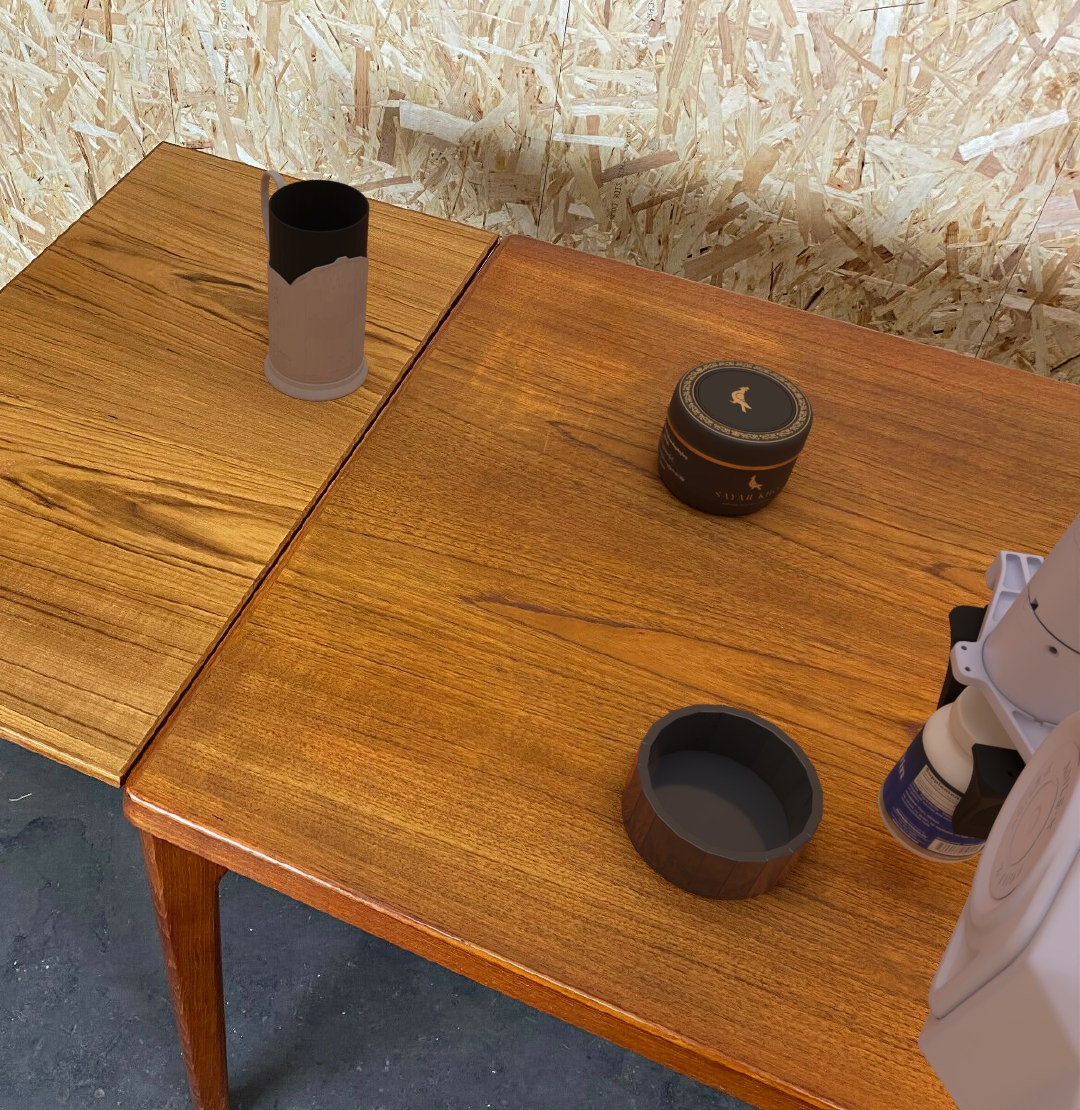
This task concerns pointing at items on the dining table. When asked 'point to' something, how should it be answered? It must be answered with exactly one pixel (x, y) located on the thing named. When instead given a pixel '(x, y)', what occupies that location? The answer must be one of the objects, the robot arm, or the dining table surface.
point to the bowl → (721, 801)
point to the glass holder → (315, 287)
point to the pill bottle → (939, 779)
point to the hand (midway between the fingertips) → (964, 775)
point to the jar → (732, 436)
